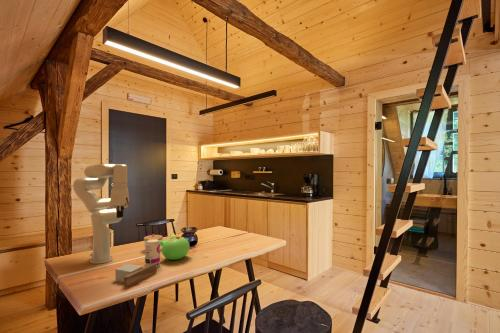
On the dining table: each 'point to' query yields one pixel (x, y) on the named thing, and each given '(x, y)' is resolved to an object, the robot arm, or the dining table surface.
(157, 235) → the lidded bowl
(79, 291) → the dining table surface
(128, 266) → the brick
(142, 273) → the fence
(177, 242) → the green round body
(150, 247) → the supplement can
